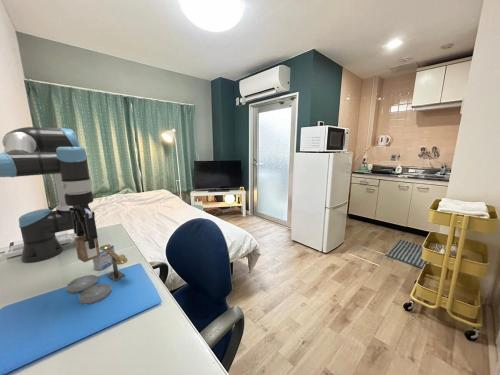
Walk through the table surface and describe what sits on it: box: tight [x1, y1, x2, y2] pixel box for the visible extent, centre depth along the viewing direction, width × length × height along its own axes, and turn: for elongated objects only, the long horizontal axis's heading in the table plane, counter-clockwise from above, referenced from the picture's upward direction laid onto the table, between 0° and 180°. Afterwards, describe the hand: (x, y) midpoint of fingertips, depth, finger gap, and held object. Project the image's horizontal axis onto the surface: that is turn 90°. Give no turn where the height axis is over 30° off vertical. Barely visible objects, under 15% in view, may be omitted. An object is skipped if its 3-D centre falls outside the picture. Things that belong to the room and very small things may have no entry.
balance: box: [99, 244, 128, 282], centre depth 89 cm, size 17×4×12 cm, turn 59°
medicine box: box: [92, 244, 116, 271], centre depth 98 cm, size 8×4×9 cm, turn 168°
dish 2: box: [78, 282, 112, 305], centre depth 79 cm, size 10×10×1 cm
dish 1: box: [65, 274, 99, 294], centre depth 85 cm, size 10×10×1 cm
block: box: [74, 234, 100, 263], centre depth 75 cm, size 5×5×8 cm
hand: (88, 254), depth 76 cm, fingers closed on block, 5 cm apart
